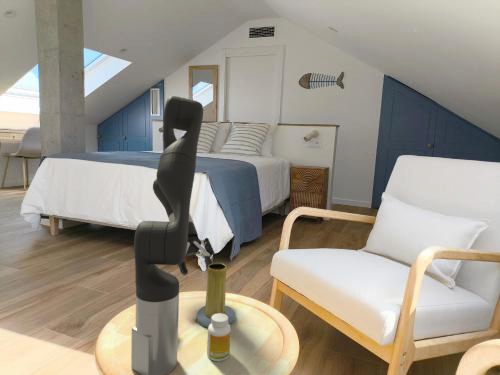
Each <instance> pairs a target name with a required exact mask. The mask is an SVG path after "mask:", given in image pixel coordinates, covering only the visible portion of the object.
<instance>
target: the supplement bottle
mask: <svg viewBox="0 0 500 375" xmlns="http://www.w3.org/2000/svg"><path fill="white" fill-rule="evenodd" d="M231 330H232V329H231V325H229V324H228V316H227V315H225V314H222V313H217V314H214V315H213V316H212V318H211V324H210V325H209V327H208V328H207V342H206V343H207V346H206V355H207V357H208V359H209V360H212V361H214V362H222V361H226V359H228V358H229V356H230V353H231V352H230V351H231V350H230V347H231V346H230V344H231Z"/></svg>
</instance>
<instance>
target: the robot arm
mask: <svg viewBox="0 0 500 375" xmlns="http://www.w3.org/2000/svg"><path fill="white" fill-rule="evenodd" d="M162 118H163V119H162V148H163V149H162V150H163V151H162V153H161V154H160V157H159V161H158V166H157V169H156V179H155V180H154V181H153V182H152V183H153V184H152V190H153V193H154V194H155V196H156V198H157V199H158V200H159V202H160V203H161V204H162V206H163V208H164V209H165V212H166V215H167V218H168V221H161V220H158V221H156V220H154V221H153V220H142V221H141V222H139V224H138V225H137V226H136V229H135V233H134V241H133V244H134V246H133V248H134V249H133V250H134V251H133V252H134V266H135V267H134V271H135V273H134V274H135V278H134V279H135V280H134V281H135V326H134V327H132V328H131V353H130V354H131V355H130V356H131V358H130V360H131V363H130V364H131V365H130V366H131V369H132V370H134V371H135V372H136V373H138V374H139V375H167V374H170V373H171V372H172V371H173V370H174V369H175V368H176V367H177V364H178V348H179V346H178V344H179V343H178V342H179V341H178V340H179V309H180V305H179V304H180V281H179V279H178V277H177V276H175V275H173V274H171V273H170V272H167V271H165V270H162V269H161V268H160V267H158V266H159V265H162V266H163V265H165V266H176V265H178V268H179V271H180V274H181V275H182V276H187V275H188V273H189V271H188V268H187V265H186V262H185V261H184V260H185V258H186V257H190V256H196V255H197V256H198V257H201V258H202V259H204V263H205V267H206V269H207V270H208V265H209V264H212V263H213V261H212V258H211V257H212V256H213V255H214V254H215V251H214V248H213V245H212V244H211V242H210V239H209V238H208V237H206V238H205V239H200V238H199V233H198V231H197V229H196V226H195V223H194V220H193V218H192V215H191V214H190V210H191V209H190V208H191V200H192V199H191V198H192V192H193V186H194V180H195V175H196V164H197V152H198V145H199V138H200V132H201V128H202V125H203V120H204V106H203V105H202V103H201V102H200V101H197V100H194V99H189V98H185V97H180V96H176V95H170V96H168V97H167V100H166V101H165V104H164V110H163V117H162ZM174 130H177V131H182V132H183V131H184V132H185V133H184V134H183V135H182V136H181V137H179V138H177V137H176V135H175V131H174ZM157 265H158V266H157Z"/></svg>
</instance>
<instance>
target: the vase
mask: <svg viewBox="0 0 500 375" xmlns="http://www.w3.org/2000/svg"><path fill="white" fill-rule="evenodd" d="M206 277H207V279H206V294H205V295H206V296H205V303H204V304H205V305H204V306H205V312H204V314H205V315H206V316H207V317H209V318H212V316H213V315H214V314H217V313H222V314H226V311H225V306H226V286H227V285H226V282H227V265H226V264H224V263H222V262H214V263H213V262H212V264H209V265H208V269H207V276H206Z"/></svg>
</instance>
